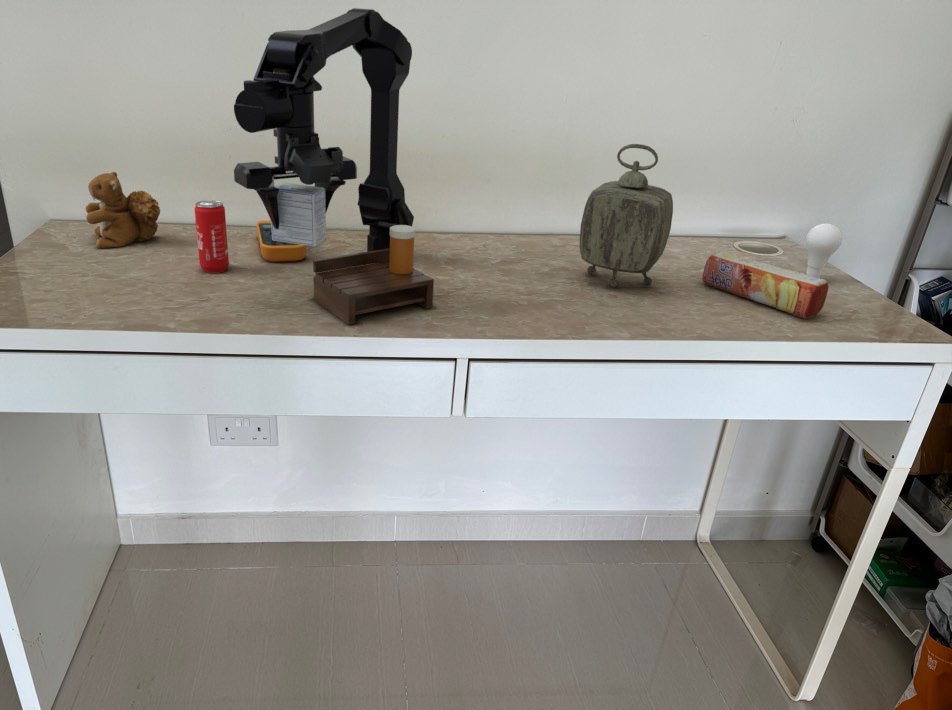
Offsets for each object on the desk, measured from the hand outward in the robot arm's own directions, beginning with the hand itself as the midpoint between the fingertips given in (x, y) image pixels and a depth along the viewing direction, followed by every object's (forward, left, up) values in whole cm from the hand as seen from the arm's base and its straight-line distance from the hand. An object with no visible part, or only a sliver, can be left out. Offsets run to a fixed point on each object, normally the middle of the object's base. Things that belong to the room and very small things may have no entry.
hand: (298, 225), depth 124 cm
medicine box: (0, 0, -3) cm, 3 cm away
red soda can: (+8, -20, -13) cm, 25 cm away
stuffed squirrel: (+17, -44, -13) cm, 48 cm away
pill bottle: (-15, +8, -7) cm, 18 cm away
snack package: (-72, +38, -13) cm, 83 cm away
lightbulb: (-92, +36, -13) cm, 100 cm away
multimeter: (-8, -26, -13) cm, 30 cm away
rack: (-9, +8, -12) cm, 18 cm away
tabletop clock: (-54, +20, -13) cm, 59 cm away
